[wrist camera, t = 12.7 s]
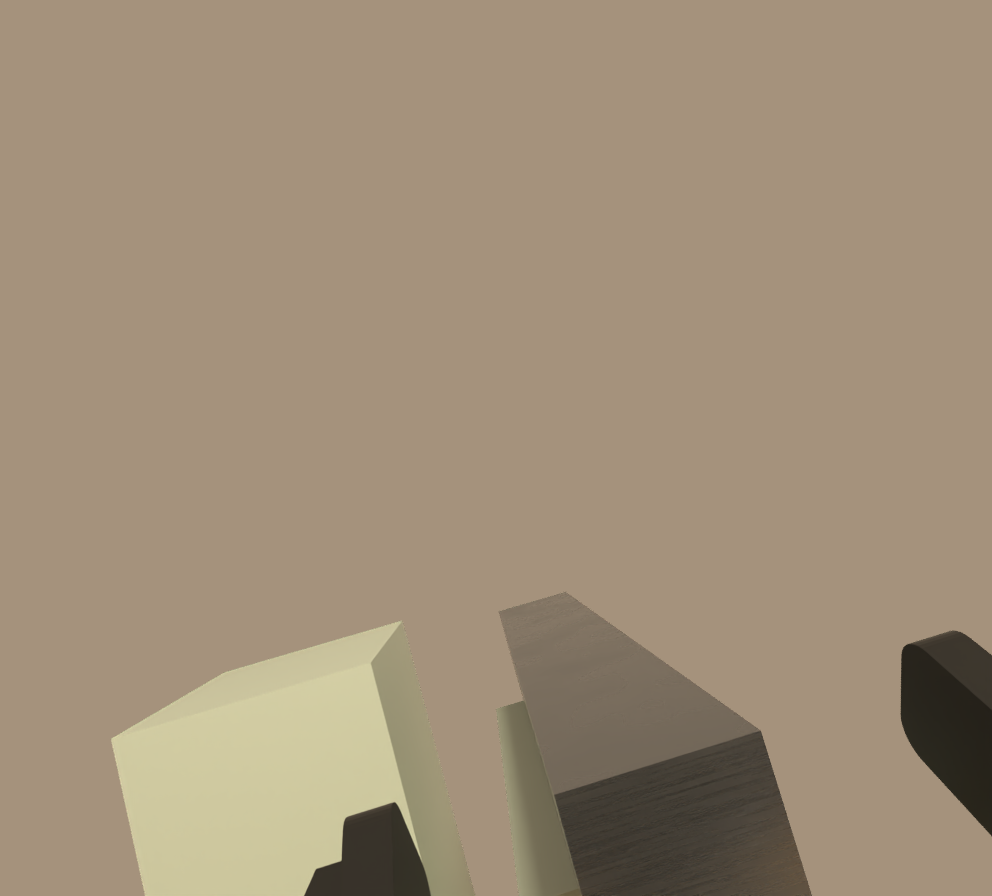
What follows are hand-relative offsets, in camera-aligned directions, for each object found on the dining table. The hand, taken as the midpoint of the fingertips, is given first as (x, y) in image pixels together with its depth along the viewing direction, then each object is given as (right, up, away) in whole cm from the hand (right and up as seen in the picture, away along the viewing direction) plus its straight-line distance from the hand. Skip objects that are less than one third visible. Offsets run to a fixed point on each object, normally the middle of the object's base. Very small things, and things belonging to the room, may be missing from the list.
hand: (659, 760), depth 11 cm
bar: (+1, -5, +12) cm, 13 cm away
